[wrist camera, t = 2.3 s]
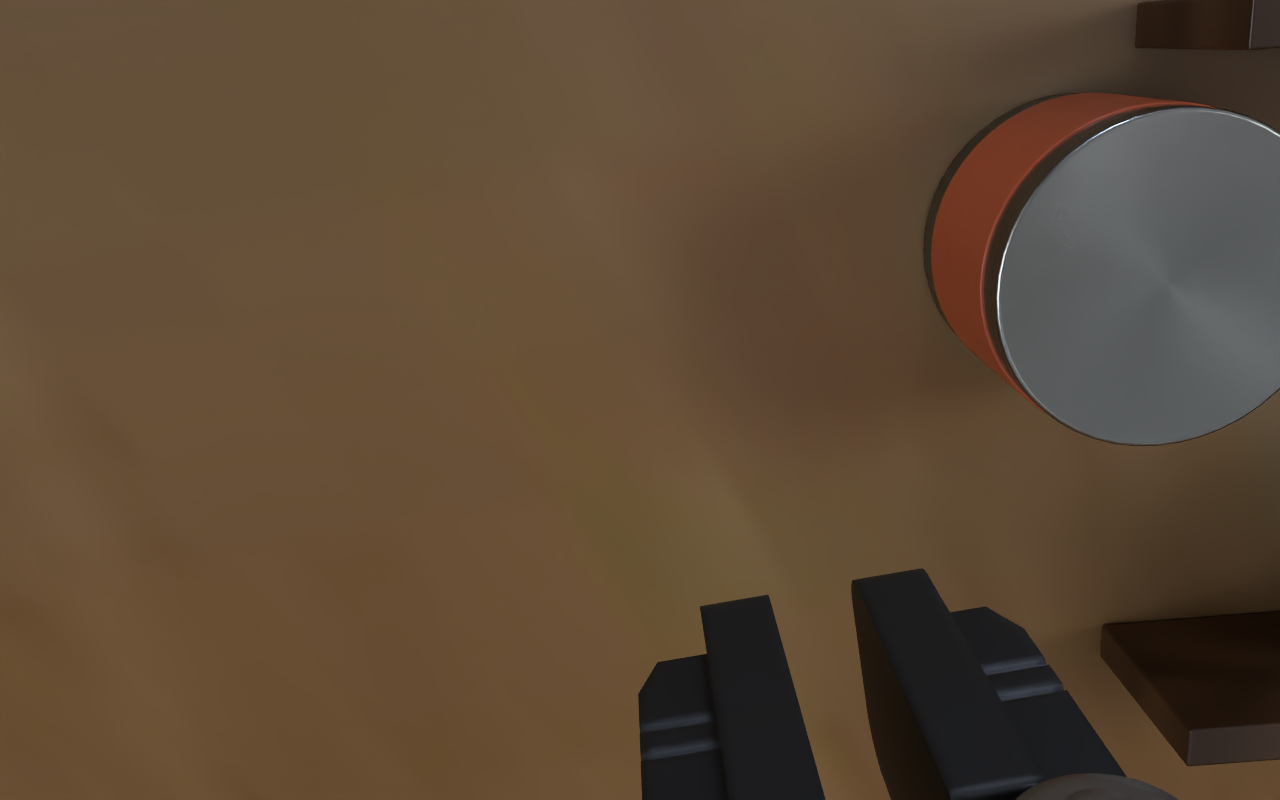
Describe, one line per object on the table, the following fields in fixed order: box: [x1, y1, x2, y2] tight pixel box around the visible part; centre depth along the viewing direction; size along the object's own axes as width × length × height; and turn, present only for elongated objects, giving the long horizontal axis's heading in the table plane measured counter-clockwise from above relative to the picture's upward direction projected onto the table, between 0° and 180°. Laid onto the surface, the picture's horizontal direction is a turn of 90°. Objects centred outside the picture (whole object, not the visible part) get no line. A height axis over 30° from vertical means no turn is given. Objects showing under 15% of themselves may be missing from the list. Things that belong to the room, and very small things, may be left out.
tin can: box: [924, 93, 1280, 446], centre depth 25 cm, size 7×7×6 cm
